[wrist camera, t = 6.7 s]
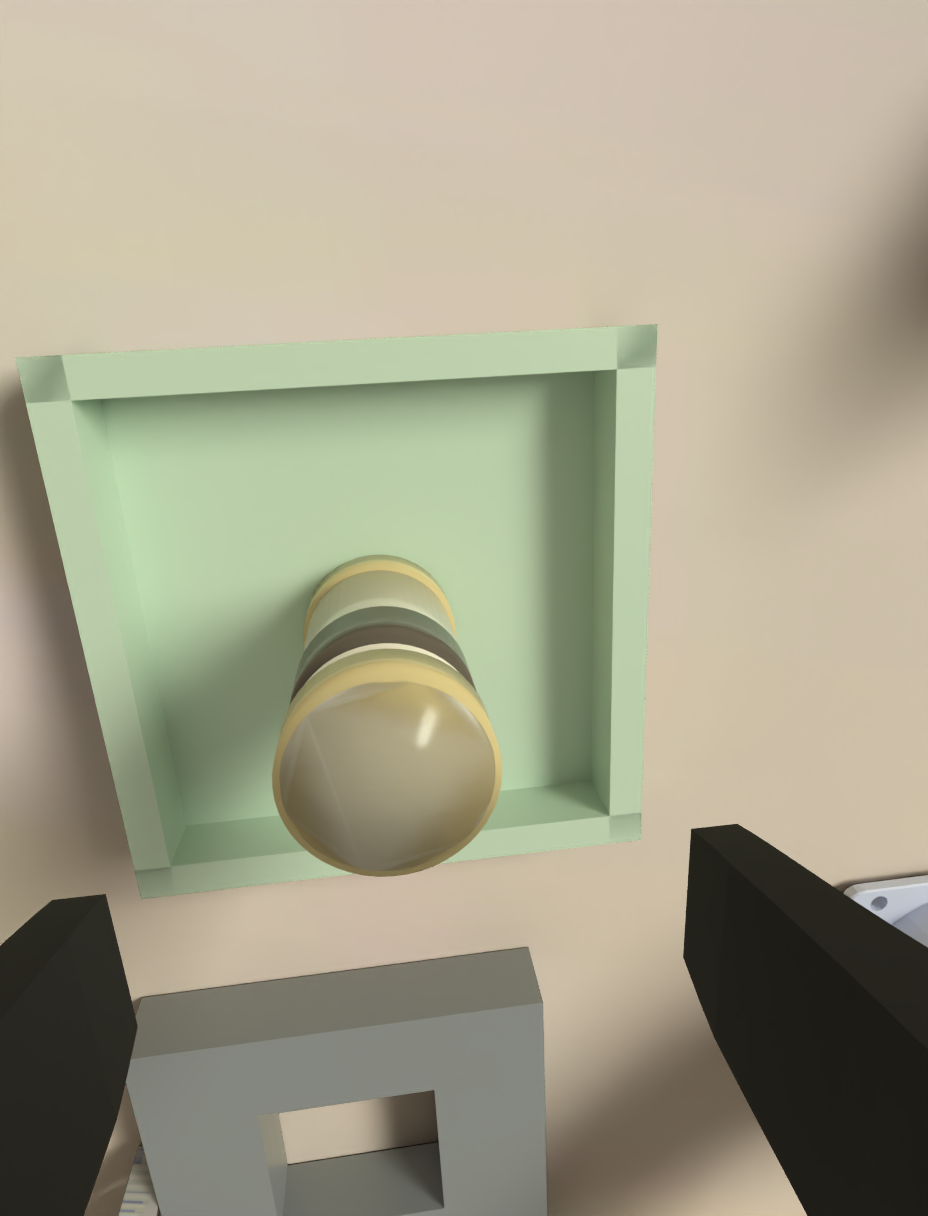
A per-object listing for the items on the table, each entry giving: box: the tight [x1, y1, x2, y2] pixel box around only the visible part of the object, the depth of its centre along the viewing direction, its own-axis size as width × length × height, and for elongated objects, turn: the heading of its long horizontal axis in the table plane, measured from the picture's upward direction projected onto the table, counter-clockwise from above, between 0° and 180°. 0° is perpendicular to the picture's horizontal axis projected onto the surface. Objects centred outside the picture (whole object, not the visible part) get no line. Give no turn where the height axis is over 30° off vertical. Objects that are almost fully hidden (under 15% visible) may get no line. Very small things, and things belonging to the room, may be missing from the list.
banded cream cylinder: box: [272, 555, 502, 877], centre depth 15 cm, size 3×3×7 cm
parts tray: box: [15, 324, 657, 899], centre depth 17 cm, size 12×12×2 cm
